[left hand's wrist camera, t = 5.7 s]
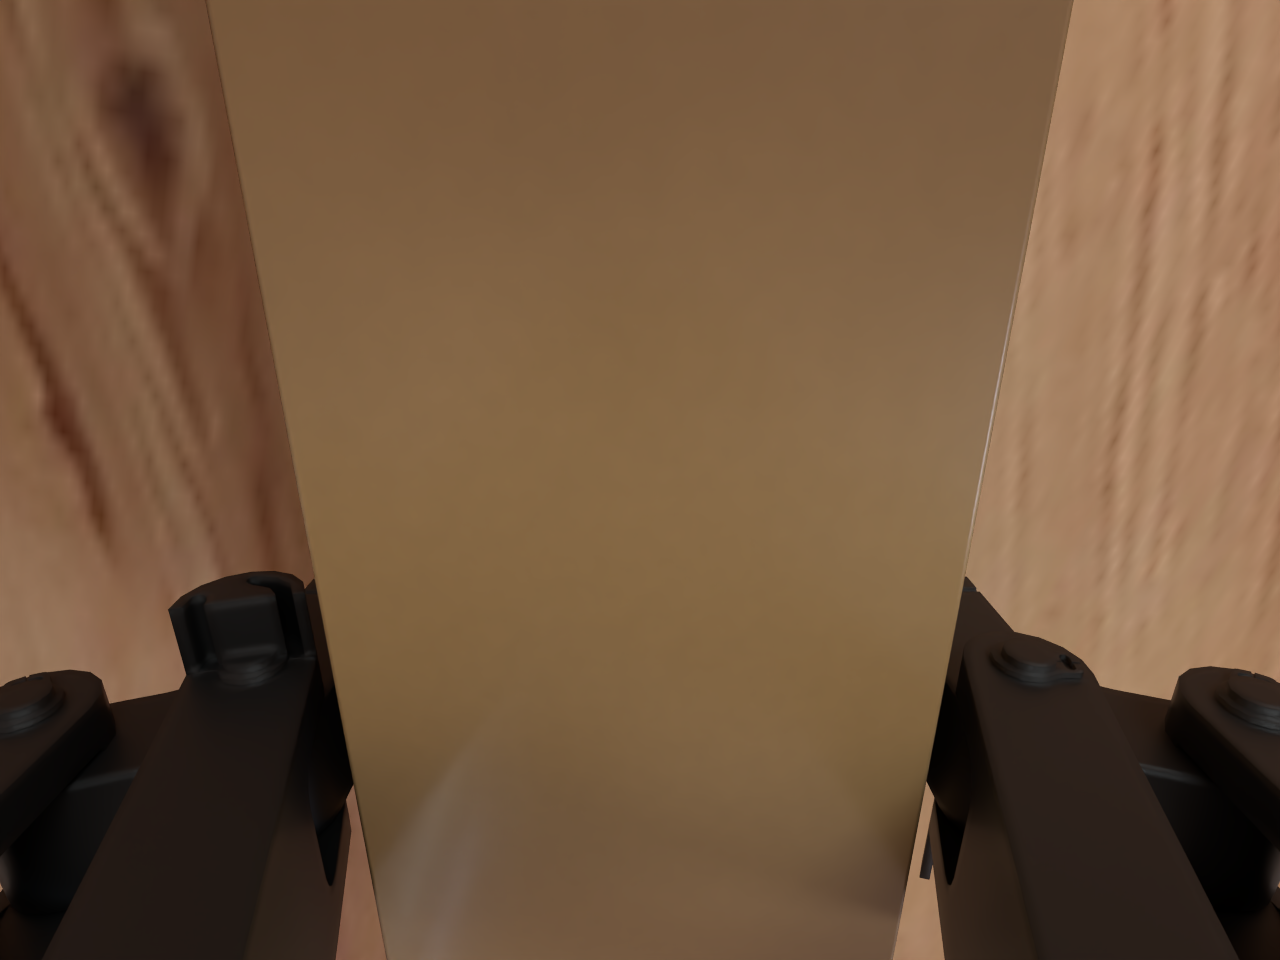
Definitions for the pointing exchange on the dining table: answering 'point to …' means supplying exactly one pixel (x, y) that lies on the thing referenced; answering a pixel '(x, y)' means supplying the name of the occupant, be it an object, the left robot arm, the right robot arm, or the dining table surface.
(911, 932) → the dining table surface
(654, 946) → the post
